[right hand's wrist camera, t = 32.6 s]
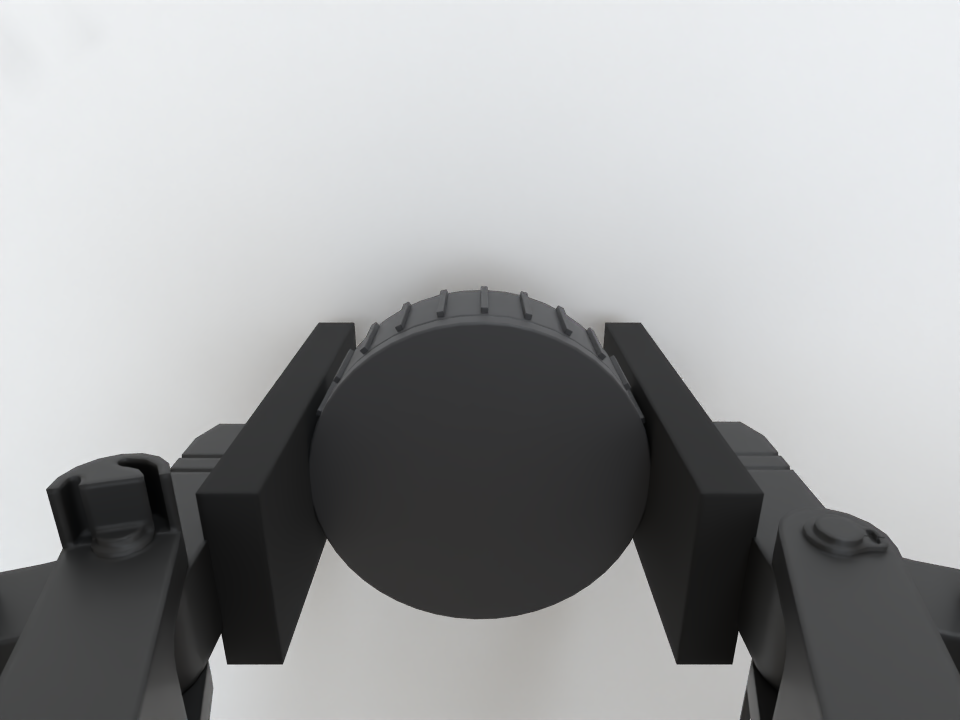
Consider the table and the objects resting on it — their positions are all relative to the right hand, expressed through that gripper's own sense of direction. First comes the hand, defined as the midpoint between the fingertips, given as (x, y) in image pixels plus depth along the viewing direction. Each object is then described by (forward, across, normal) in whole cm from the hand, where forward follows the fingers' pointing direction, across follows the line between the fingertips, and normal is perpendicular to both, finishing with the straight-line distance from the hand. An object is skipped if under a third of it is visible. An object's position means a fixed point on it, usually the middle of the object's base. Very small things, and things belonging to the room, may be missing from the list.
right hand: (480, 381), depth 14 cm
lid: (-4, 0, 0) cm, 4 cm away
